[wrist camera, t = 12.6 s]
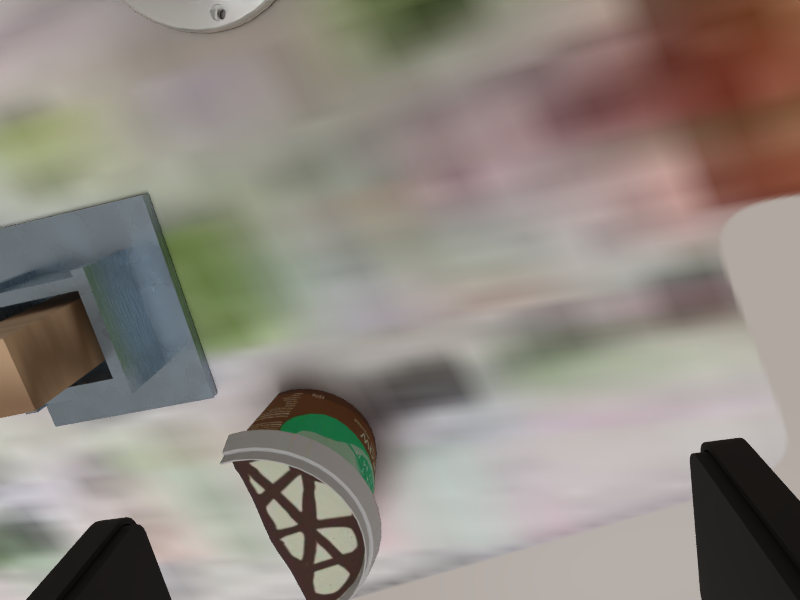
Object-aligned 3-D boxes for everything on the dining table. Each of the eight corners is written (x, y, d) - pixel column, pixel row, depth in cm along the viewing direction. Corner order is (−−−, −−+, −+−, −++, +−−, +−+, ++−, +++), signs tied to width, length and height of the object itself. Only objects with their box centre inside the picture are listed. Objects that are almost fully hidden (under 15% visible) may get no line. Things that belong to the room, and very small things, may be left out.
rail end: (57, 295, 39) (-68, 354, 30) (112, 282, 39) (2, 338, 29) (80, 350, 41) (-33, 424, 31) (134, 339, 40) (35, 410, 31)
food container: (420, 497, 43) (411, 607, 33) (341, 520, 44) (311, 633, 35) (352, 345, 40) (321, 420, 30) (269, 374, 41) (215, 455, 31)
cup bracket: (-19, 233, 39) (-88, 251, 34) (148, 193, 38) (101, 206, 33) (62, 421, 43) (11, 462, 38) (217, 392, 42) (185, 431, 37)
